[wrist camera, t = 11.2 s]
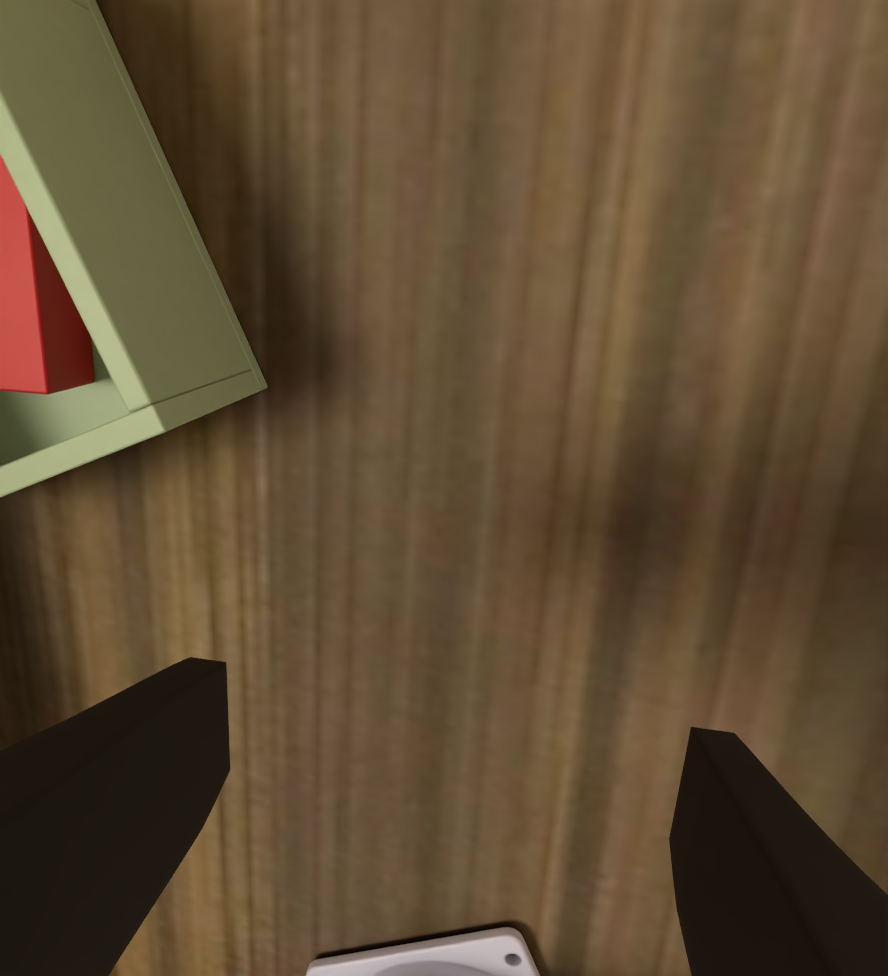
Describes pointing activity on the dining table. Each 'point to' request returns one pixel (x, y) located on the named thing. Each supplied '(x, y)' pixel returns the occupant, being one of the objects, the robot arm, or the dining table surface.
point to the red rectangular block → (36, 308)
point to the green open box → (107, 250)
